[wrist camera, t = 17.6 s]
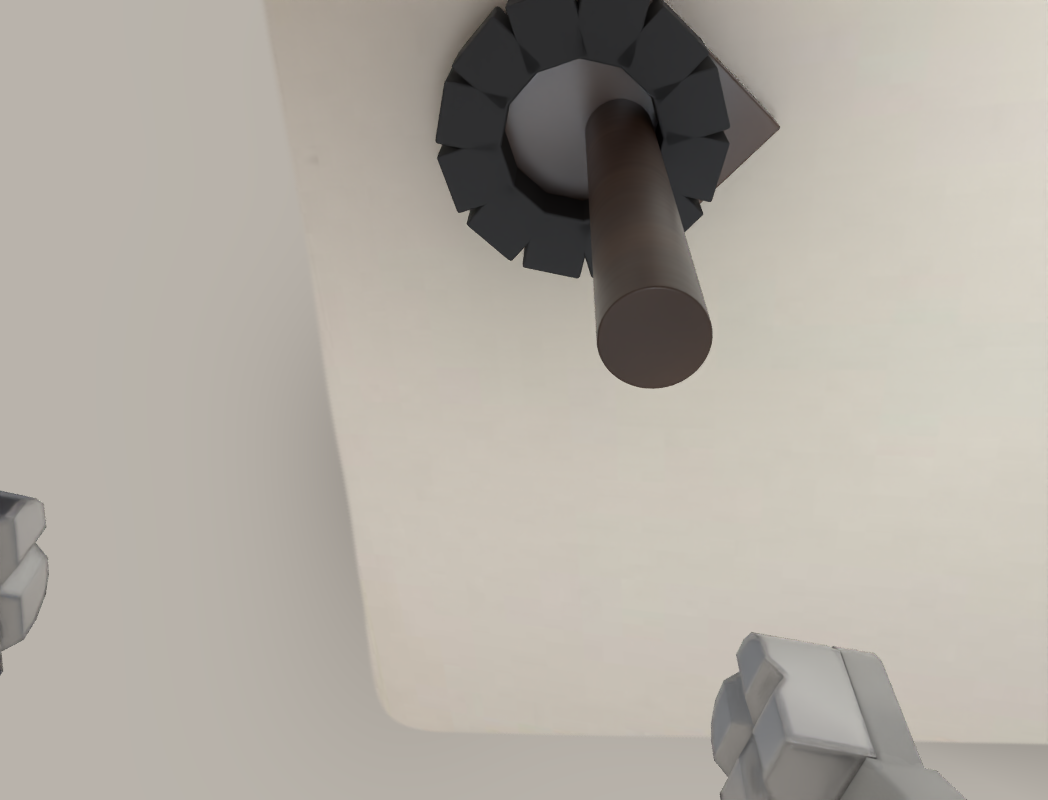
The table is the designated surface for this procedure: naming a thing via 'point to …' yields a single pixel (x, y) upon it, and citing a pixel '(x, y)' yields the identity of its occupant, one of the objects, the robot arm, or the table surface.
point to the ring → (548, 41)
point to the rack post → (628, 207)
